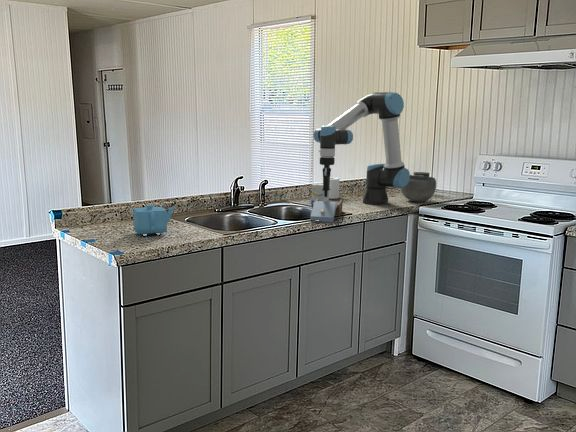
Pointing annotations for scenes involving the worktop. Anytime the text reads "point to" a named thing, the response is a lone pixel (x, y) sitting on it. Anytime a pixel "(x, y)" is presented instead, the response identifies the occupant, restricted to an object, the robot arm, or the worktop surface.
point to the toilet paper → (334, 188)
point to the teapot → (151, 219)
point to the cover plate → (323, 211)
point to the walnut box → (338, 207)
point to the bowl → (419, 188)
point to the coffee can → (421, 174)
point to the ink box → (317, 192)
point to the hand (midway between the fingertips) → (325, 202)
